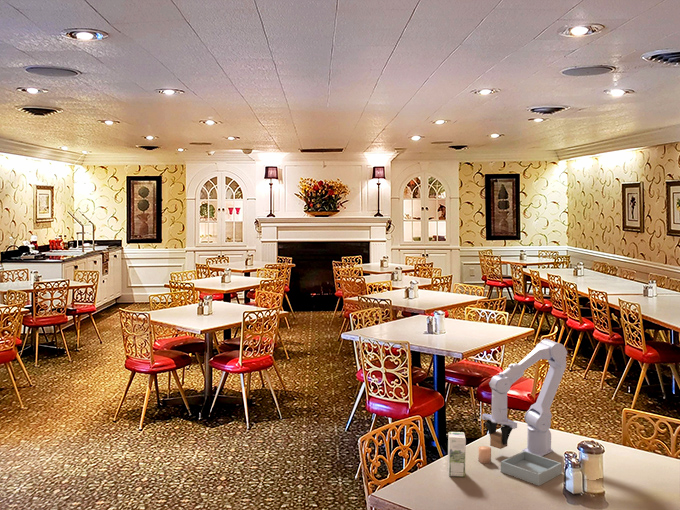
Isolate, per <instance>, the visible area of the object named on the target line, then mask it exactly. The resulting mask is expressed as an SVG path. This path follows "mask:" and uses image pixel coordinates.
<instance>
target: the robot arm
mask: <svg viewBox="0 0 680 510" xmlns="http://www.w3.org/2000/svg"><path fill="white" fill-rule="evenodd" d="M567 355H568V350H567V349H566V347H565V345H564V344H562V343H559V342H556V341H554V340H551V339H549V338H544V339H542V340H541V341H540V342H538V343H537V344H536V345H535V347H534V348H533V349H532V350H531V352H529V353H528V354H527V355H526V356H524V358H522V360H520V361H519V362H518V363H510V364H509V365H508V367H507V368H506V369H504V370H503V371H501V372H499V374H496V375H493V376H492V377H491V379H490V381H489V382H488V385H489V387H490V389H491V414H489V413H482V414H481V420H482V421H485V422H484V426H486V429H487V431H488V434H489V435H490V434H492V433H494V432H497V428H498V425H502V426H500V432H501V433H502V444H503V445H505V444H507V445H508V441H509V437H510V434H511V432H512V431H513V430H515V429H517V428H518V422H516V421H514V420H511V419H509V418H508V392H509V391H510V390H511V387H512V385H513V384H515V383H516V382H517V381H518V380H519V379H520V378H522V377H524V374H525V371H526V370H527V369H529V368H530V367H531V366H533V365H534V364H536V363H537V362H538V361H540V360H547V362H548V364H549V368H548V371H547V373H546V375H545V378H544V381H543V383H542V385H541V389H540V391H539V394H538V396H537V399H536V402H534V403H533V404H531V405H530V407H529V409H528V410H527V411H526V412H525V414H524V421H525V423H526V425H527V437H526V438H527V441H526V442H527V444H526V445H527V446H526V448H523V449H522V452H523V451H526V452H529V453H532V454H535V455H538V456H541V457H544V456H546V455H548V454H550V453H552V452H554V449H553V448H552V433H551V430H550V428H551V426H552V425H551V424H552V422H551V419H552V412H551V406H552V404H553V401H554V398H555V396H556V394H557V391H558V388H559V386H560V383H561V381H562V379H563V376H564V373H565V371H566V368H567Z"/></svg>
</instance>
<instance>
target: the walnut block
mask: <svg viewBox="0 0 680 510" xmlns="http://www.w3.org/2000/svg"><path fill="white" fill-rule="evenodd" d="M489 437H490V438H489V439H490V441H489V442H490V443H489V445H490V446H489V447H493V448H496V449H499V450H502V449H504V448H506V447H508V443H507V444H505V445H503V444H502V432H501V431H498V430H496V432H494V433H492V434H489Z"/></svg>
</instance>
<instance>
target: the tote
mask: <svg viewBox="0 0 680 510" xmlns="http://www.w3.org/2000/svg"><path fill="white" fill-rule="evenodd" d="M562 463H563V462H558V461H556V460H553V459H550V458H547V457H544V456H542V457H541V456H538V455H535V454H532V453H529V452H526V451H523V450H522V451H521V452H519V453H516V454H514V455H512V456H510V457H507V458H506V459H505V458H504V459H503V460H500V473H502V474H505V475H509V476H510V477H513V476H514V478H516V479H519V478H520V479H519V480H521V479H522V481H524V482H527V483H531V484H532V483H533V485H535V486H538V487H540V486H541V485H543V484H545V483H547V482H549V481H550V480H552V479H554V478H556V477H558V476H560V475H562V470H563V469H562V467H563V465H562Z"/></svg>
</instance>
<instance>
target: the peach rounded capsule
mask: <svg viewBox="0 0 680 510" xmlns="http://www.w3.org/2000/svg"><path fill="white" fill-rule="evenodd" d="M478 462H479V463H480V464H483V465H488V464H491V462H492V447H491V446H486V445H481V446H479V447H478Z"/></svg>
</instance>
